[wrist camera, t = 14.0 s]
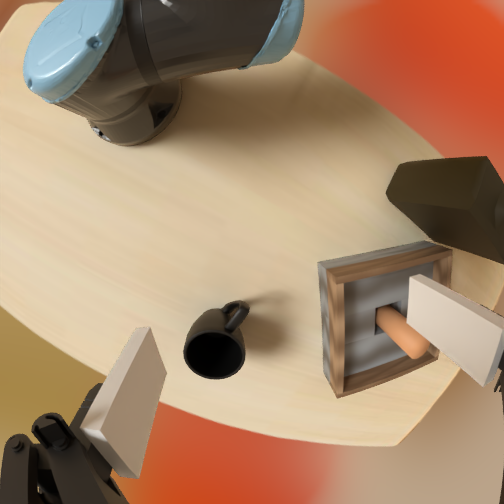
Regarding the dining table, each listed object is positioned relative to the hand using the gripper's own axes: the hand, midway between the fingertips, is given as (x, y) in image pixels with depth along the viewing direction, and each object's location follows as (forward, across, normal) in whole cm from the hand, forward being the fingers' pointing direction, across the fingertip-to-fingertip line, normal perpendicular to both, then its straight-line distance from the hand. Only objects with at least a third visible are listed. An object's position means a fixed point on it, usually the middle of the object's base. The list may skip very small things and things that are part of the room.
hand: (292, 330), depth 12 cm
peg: (+29, +21, -17) cm, 39 cm away
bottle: (+29, +31, +1) cm, 42 cm away
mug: (+29, -6, -12) cm, 32 cm away
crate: (+29, +21, -17) cm, 39 cm away
